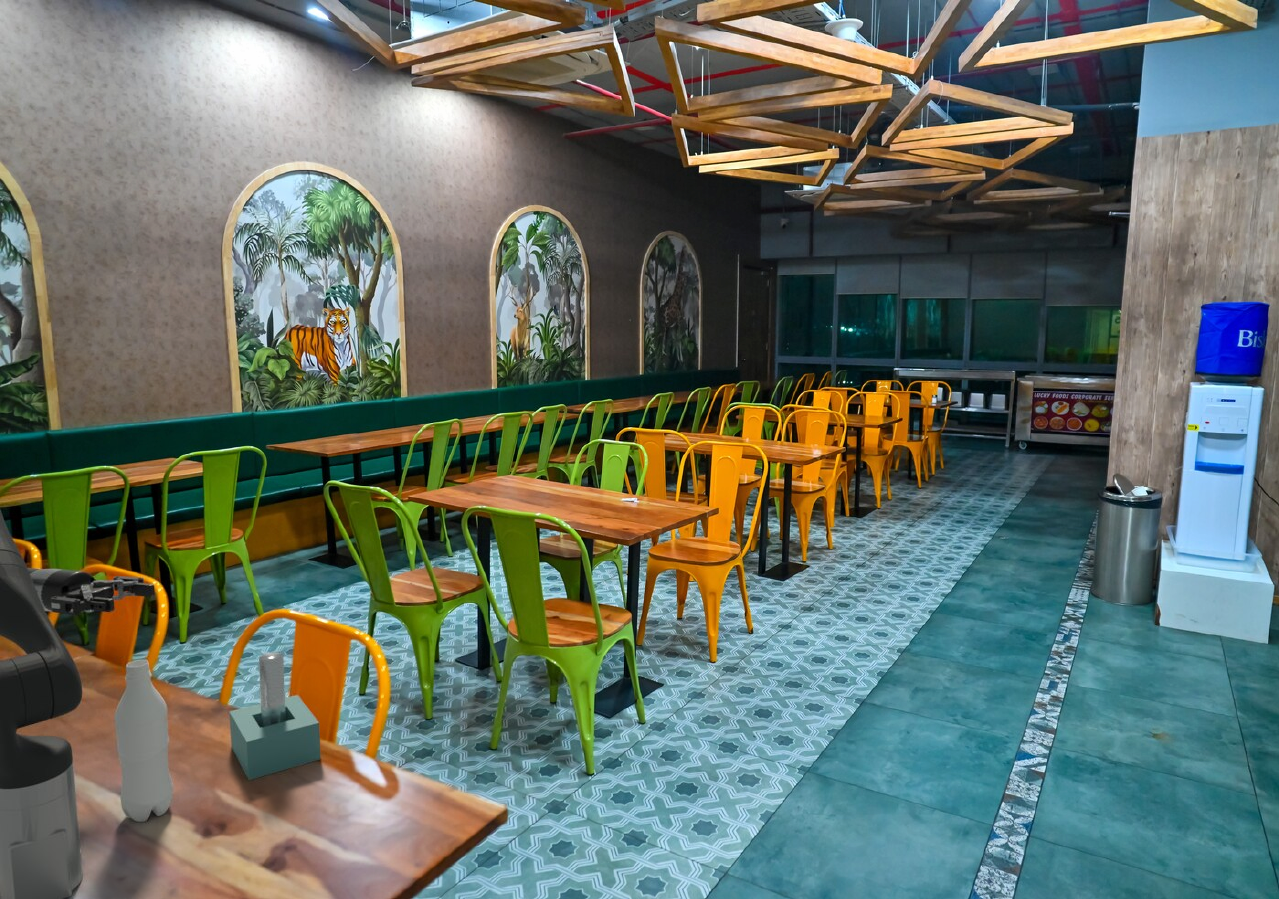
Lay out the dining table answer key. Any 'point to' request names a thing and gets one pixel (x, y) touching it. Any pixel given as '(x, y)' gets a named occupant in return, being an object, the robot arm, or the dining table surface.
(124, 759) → the water bottle
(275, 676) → the steel post
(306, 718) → the well block
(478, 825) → the dining table surface
